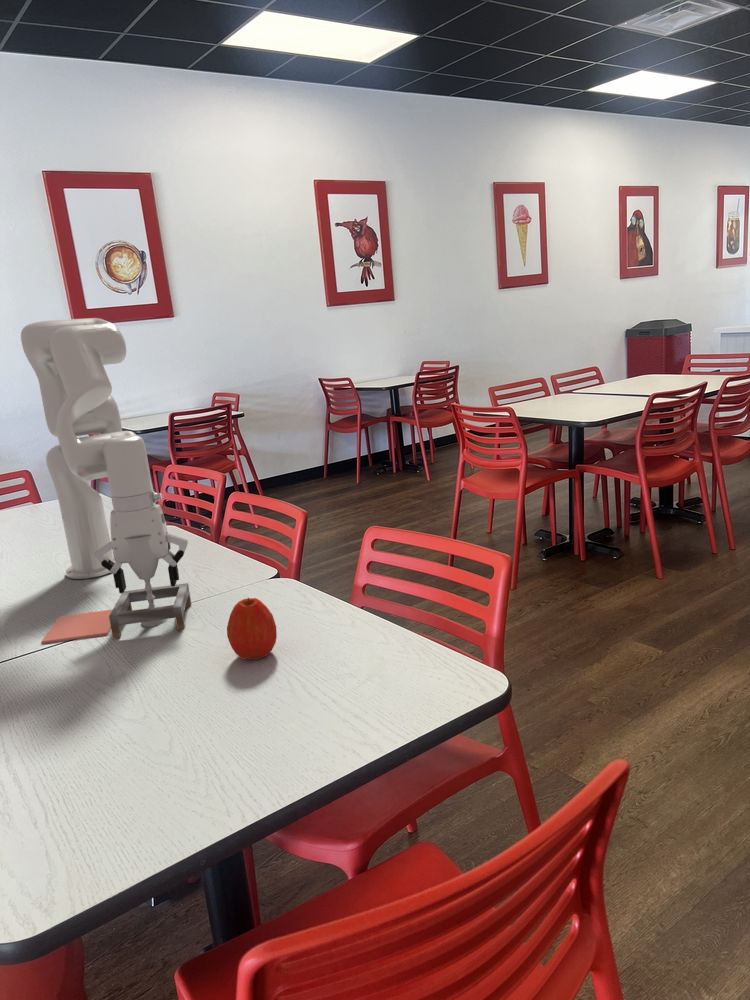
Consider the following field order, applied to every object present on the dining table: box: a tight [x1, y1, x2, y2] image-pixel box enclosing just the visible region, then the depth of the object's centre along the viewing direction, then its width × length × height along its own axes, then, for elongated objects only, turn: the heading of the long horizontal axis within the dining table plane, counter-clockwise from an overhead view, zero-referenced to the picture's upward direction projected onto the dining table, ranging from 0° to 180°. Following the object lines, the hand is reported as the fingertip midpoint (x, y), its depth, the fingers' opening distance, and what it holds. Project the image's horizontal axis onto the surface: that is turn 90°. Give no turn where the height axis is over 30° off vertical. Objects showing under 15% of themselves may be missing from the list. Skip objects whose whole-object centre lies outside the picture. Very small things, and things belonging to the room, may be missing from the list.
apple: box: [226, 597, 277, 660], centre depth 119 cm, size 8×8×11 cm
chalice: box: [124, 535, 168, 627], centre depth 137 cm, size 7×7×18 cm
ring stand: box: [109, 582, 192, 640], centre depth 139 cm, size 13×13×5 cm
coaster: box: [40, 608, 113, 645], centre depth 139 cm, size 12×12×1 cm
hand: (148, 587), depth 137 cm, fingers open, 9 cm apart
